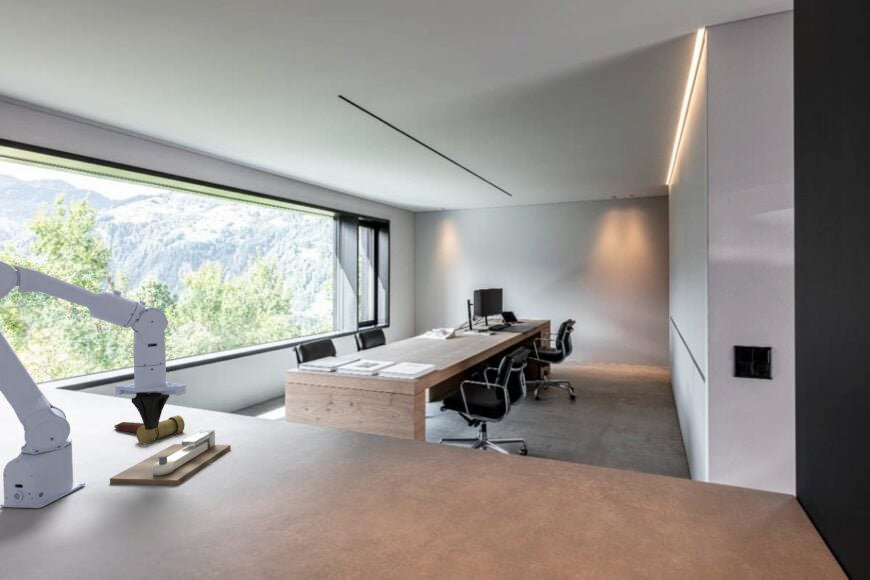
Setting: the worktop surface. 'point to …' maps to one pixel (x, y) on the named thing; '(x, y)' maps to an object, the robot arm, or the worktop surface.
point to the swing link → (178, 458)
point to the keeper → (201, 438)
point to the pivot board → (144, 472)
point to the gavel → (148, 436)
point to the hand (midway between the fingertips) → (151, 428)
